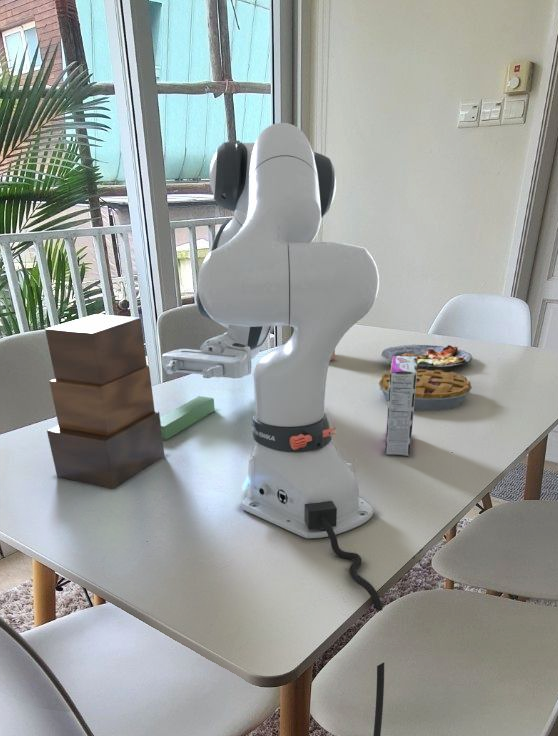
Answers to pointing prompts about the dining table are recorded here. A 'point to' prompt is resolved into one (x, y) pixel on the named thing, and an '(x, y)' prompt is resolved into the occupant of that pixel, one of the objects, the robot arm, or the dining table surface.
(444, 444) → the dining table surface
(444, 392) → the pie
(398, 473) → the dining table surface
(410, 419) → the candy bar box
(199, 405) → the green bar
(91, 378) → the block stack
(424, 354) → the food plate
